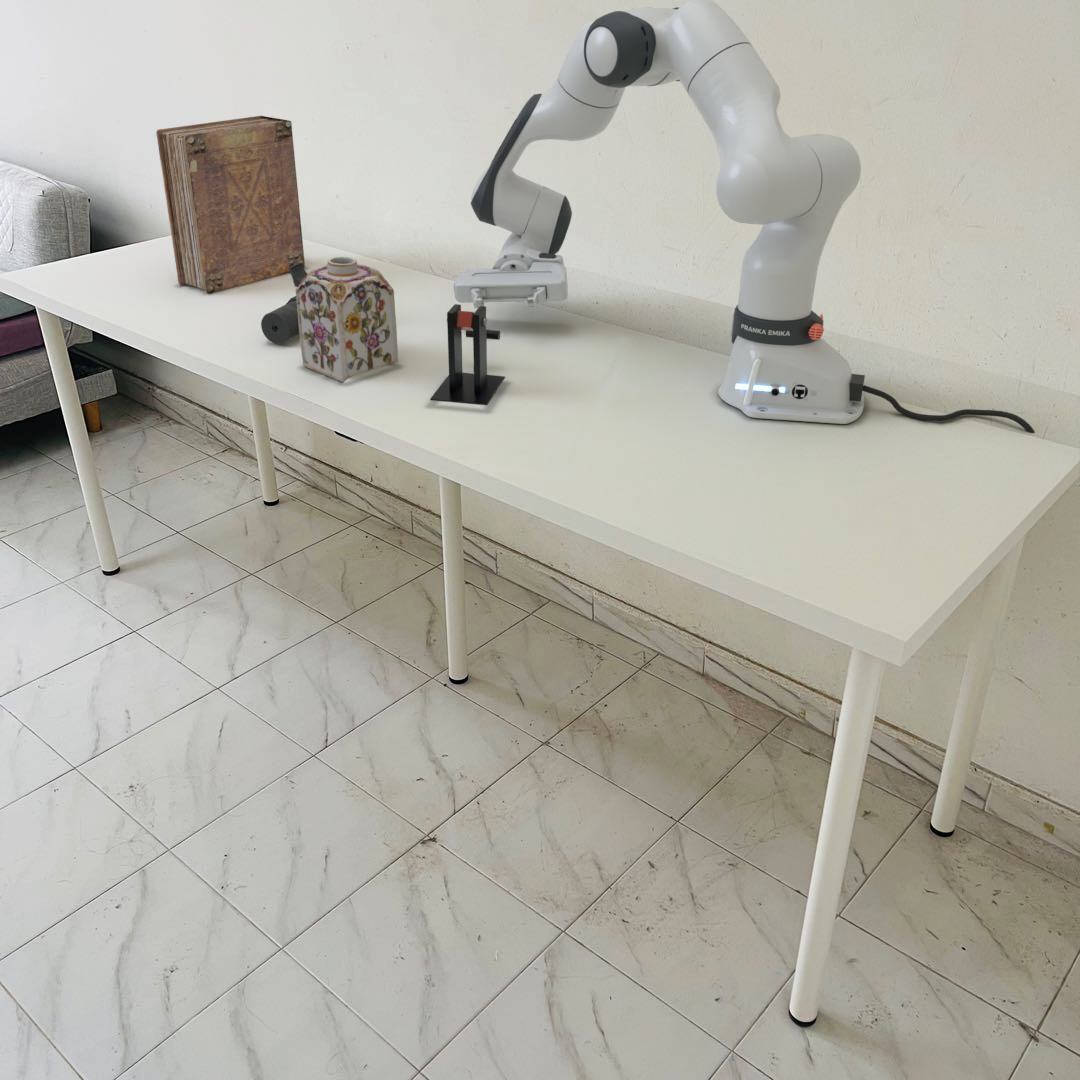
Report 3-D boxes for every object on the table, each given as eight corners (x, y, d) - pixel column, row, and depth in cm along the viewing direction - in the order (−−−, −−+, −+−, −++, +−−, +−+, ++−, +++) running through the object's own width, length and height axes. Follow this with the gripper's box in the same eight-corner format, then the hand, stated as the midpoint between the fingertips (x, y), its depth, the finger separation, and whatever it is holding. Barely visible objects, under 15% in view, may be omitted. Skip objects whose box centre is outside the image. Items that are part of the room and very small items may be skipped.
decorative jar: (300, 367, 182) (289, 259, 173) (355, 350, 190) (348, 246, 181) (345, 385, 175) (336, 274, 166) (401, 367, 183) (395, 260, 174)
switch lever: (466, 340, 179) (468, 326, 179) (499, 343, 178) (501, 328, 178) (446, 325, 166) (448, 309, 166) (481, 328, 165) (483, 312, 165)
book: (205, 294, 217) (183, 135, 202) (178, 285, 222) (154, 130, 207) (305, 268, 234) (291, 119, 219) (278, 260, 239) (262, 115, 224)
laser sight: (253, 341, 193) (246, 286, 188) (321, 306, 211) (316, 254, 206) (300, 349, 190) (294, 293, 185) (365, 312, 208) (361, 260, 203)
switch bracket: (451, 378, 178) (448, 295, 172) (504, 383, 177) (504, 300, 170) (430, 406, 168) (426, 319, 161) (486, 411, 167) (485, 324, 160)
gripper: (459, 258, 198) (443, 287, 187) (571, 254, 195) (561, 285, 184) (463, 290, 202) (448, 322, 191) (573, 288, 198) (564, 319, 187)
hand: (504, 303), depth 187 cm, fingers open, 8 cm apart
